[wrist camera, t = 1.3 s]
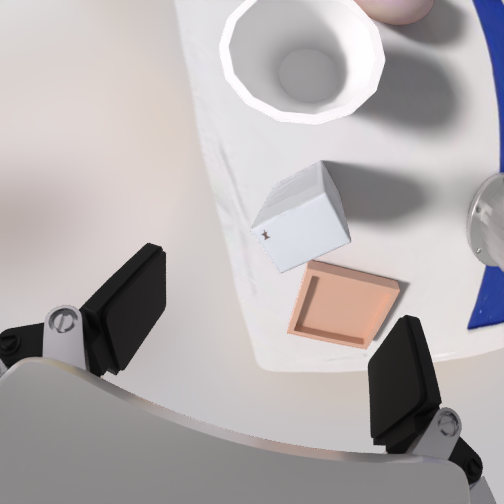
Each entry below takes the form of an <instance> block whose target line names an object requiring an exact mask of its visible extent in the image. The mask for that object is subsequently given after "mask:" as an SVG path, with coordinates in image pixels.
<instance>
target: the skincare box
mask: <svg viewBox="0 0 504 504" xmlns="http://www.w3.org/2000/svg"><path fill="white" fill-rule="evenodd" d="M250 231H251V232H252V234H253V235H254V237H255V238H256V239H257V241H258V242H259V244H260V245H261V247H262V248H263V249H264V251H265V252H266V254H267V255H268V257H269V258H270V260H271V261H272V263H273V264H274V266H275V267H276V268H277V270H278V271H279V273H283V272H285V271H288V270H290V269H292V268H295V267H297V266H299V265H302V264H304V263H306V262H308V261H311V260H313V259H315V258H317V257H319V256H321V255H324V254H326V253H328V252H330V251H332V250H335V249H337V248H339V247H341V246H344V245H346V244H348V243H350V242H351V237H350V233H349V229H348V225H347V221H346V217H345V213H344V209H343V205H342V201H341V198H340V194H339V191H338V190H337V188H336V186H335V184H334V182H333V180H332V178H331V176H330V174H329V172H328V170H327V169H326V167H325V165H324V163H323V162H322V161H321V160H320V161H318V162H316V163H314V164H312V165H311V166H309V167H307V168H305V169H303V170H301V171H299V172H297V173H295V174H294V175H292V176H290V177H288V178H286V179H284V180H283V181H281V182H279V183H277V184H275V185H274V186H273V188H272V190H271V192H270V194H269V196H268V198H267V199H266V201H265V203H264V205H263V207H262V209H261V210H260V212H259V214H258V216H257V218H256V219H255V221H254V223H253V225H252V227H251V229H250Z"/></svg>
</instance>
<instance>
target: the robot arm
mask: <svg viewBox="0 0 504 504" xmlns="http://www.w3.org/2000/svg"><path fill="white" fill-rule="evenodd" d="M467 237H468V243H469V245H470V248H471V250H472V252H473V253H474V255H475V256H476V257H477V258H478V260H479V261H481V262H482V263H483V264H485V265H488V266H499V267H500V269H501V270H502V271H503V273H504V172H501V173H497V174H495V175H493V176H492V177H490V178H489V179H488V180H487V181H485V182H484V183H483V185H482V186H481V187H480V189H479V190H478V192H477V193H476V195H475V197H474V199H473V201H472V204H471V206H470V210H469V214H468V220H467ZM165 307H166V253H165V252H164V251H163V249H162V247H161V246H157V245H154V244H151V243H147V244H146V245H145V246H143V247H142V248H141V249H140V250H139V251H138V252H137V253H136V254H135V255H134V256H133V257H132V258H130V259H129V260H128V261H127V262H126V263H125V264H124V265H123V266H122V267H121V268H120V269H119V270H118V271H117V272H116V273H115V274H113V276H112V277H110V278H109V279H108V280H107V281H106V282H105V283H104V284H103V285H102V286H101V288H99V289H98V290H97V291H96V292H95V294H94V295H92V297H91V298H90V299H89V300H88V301H87V302H86V303H85V304H84V305H83V306H82V307H81V308H80V309H79V310H78V309H77V308H75V307H74V306H70V305H62V306H58V307H56V308H54V309H52V310H51V311H50V312H49V313H48V315H47V316H46V318H45V322H44V323H39V324H33V325H27V326H21V327H16V328H10V329H7V330H5V331H3V332H2V333H1V334H0V504H496V501H495V499H494V497H493V495H492V492H491V490H490V488H489V486H488V484H487V482H486V480H485V477H484V476H482V477H481V474H482V470H483V465H482V461H481V458H480V457H479V455H478V454H477V453H476V452H474V450H473V449H472V448H471V447H470V446H469V445H468V444H467V443H466V442H465V441H464V440H463V439H462V438H461V437H460V432H461V429H462V428H461V420H460V418H459V416H458V414H457V413H456V412H455V411H454V410H452V409H450V408H447V407H445V408H441V409H440V408H439V405H440V404H441V403H442V401H441V396H440V391H439V387H438V383H437V378H436V374H435V370H434V367H433V363H432V359H431V355H430V352H429V348H428V345H427V342H426V338H425V335H424V332H423V329H422V326H421V323H420V320H419V318H417V317H413V316H409V315H405V316H403V318H399V319H398V321H397V322H396V324H395V325H394V327H393V328H392V330H391V331H390V333H389V334H388V336H387V337H386V338H385V340H384V341H383V343H382V344H381V345H380V347H379V348H378V350H377V351H376V352H375V354H374V355H373V356H372V358H371V359H370V361H369V363H368V376H369V394H370V425H371V426H370V427H371V437H372V438H373V444H374V445H386V451H385V452H384V453H383V454H375V453H356V452H344V451H333V450H325V449H317V448H309V447H304V446H297V445H292V444H286V443H281V442H276V441H271V440H267V439H262V438H258V437H254V436H250V435H246V434H242V433H238V432H234V431H231V430H228V429H224V428H221V427H218V426H214V425H211V424H208V423H205V422H202V421H199V420H196V419H193V418H191V417H188V416H185V415H182V414H180V413H177V412H174V411H172V410H169V409H167V408H164V407H162V406H160V405H157V404H155V403H153V402H150V401H148V400H145V399H143V398H141V397H139V396H136V395H135V394H132V393H130V392H128V391H126V390H124V389H122V388H120V387H118V386H116V385H114V384H112V383H110V382H108V381H106V380H104V379H103V375H104V374H105V372H106V371H108V372H110V373H112V374H114V375H117V374H118V372H119V371H120V370H122V371H123V370H124V369H125V368H126V367H127V365H128V364H129V362H130V360H131V359H132V358H133V356H134V354H135V353H136V351H137V350H138V349H139V347H140V346H141V344H142V343H143V341H144V339H145V338H146V337H147V335H148V334H149V332H150V331H151V329H152V328H153V326H154V325H155V323H156V321H157V320H158V319H159V317H160V316H161V315H162V313H163V311H164V310H165Z"/></svg>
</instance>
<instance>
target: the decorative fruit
mask: <svg viewBox="0 0 504 504" xmlns="http://www.w3.org/2000/svg"><path fill="white" fill-rule="evenodd" d="M353 1H355V2H356V3H357V4H358V6H359V7H360V8H361V9H362V10H363V11H364V12H365V13H366V15H367V16H368V17H370V18H372V19H374V20H377V21H380V22H384V23H388V24H394V25H406V24H411V23H414V22H416V21H418V20H420V19H422V18H423V17H425V16H426V15H427V14H428V12H429V11H430V10H431V8H432V6H433V3H434V0H353Z"/></svg>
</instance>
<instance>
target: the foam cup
mask: <svg viewBox="0 0 504 504" xmlns="http://www.w3.org/2000/svg"><path fill="white" fill-rule="evenodd" d="M219 52H220V56H221V61H222V66H223V71H224V76H225V79H226V80H227V81H228V82H229V83H230V85H231V86H232V87H233V88H234V90H235V91H236V92H237V93H238V95H239V96H240V97H241V98H242V100H243V101H244V102H245V103H246V104H247V105H249V106H251V107H253V108H255V109H257V110H259V111H260V112H262V113H264V114H266V115H268V116H270V117H272V118H274V119H275V120H277V121H283V122H294V123H304V124H313V125H317V124H321V123H324V122H327V121H330V120H333V119H337V118H340V117H344V116H347V115H351V114H352V113H353V112H354V111H355V110H356V109H357V108H358V107H360V106H361V105H362V104H363V103H364V102H365V101H366V100H367V99H368V98H369V97H370V96H371V95H372V94H374V93H375V92H376V90H377V87H378V84H379V80H380V77H381V74H382V70H383V67H384V64H385V55H384V51H383V47H382V43H381V39H380V35H379V31H378V28H377V26H376V25H375V24H374V23H373V22H372V20H371V19H370V18H369V17H368V16H367V15H366V13H365V12H364V11H363V10H362V9H361V8H360V7H359V6H358V4H357V3H356V2H355V1H353V0H245V1H244V2H243V3H242V4H241V5H240V6H239V7H238V8H237V9H236V10H235V11H234V12H233V13H232V14H231V15H230V16H229V17H228V19H227V22H226V25H225V28H224V31H223V34H222V38H221V41H220V44H219Z"/></svg>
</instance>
